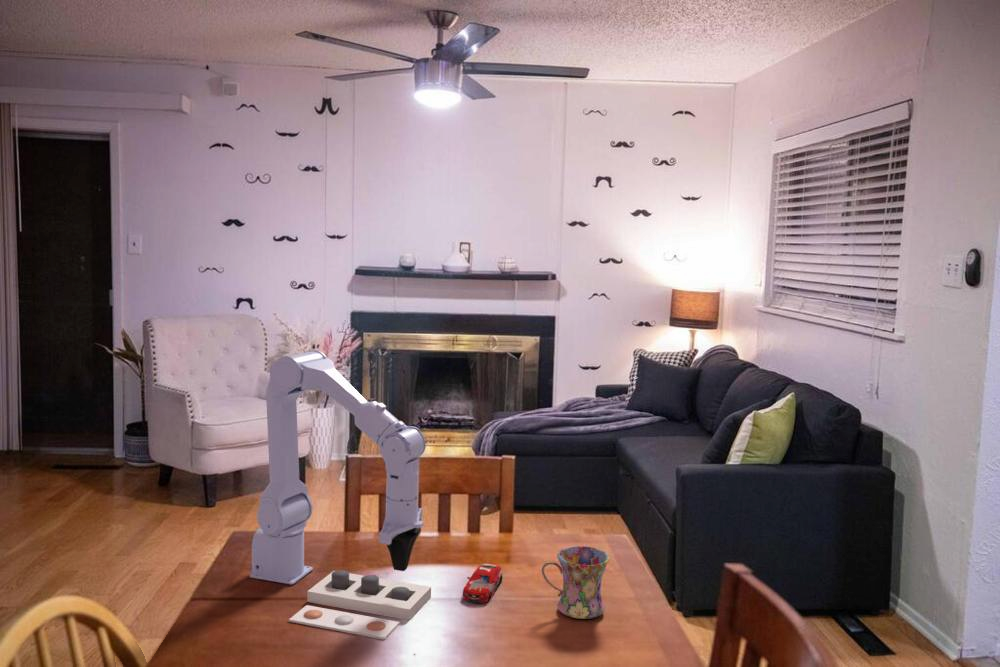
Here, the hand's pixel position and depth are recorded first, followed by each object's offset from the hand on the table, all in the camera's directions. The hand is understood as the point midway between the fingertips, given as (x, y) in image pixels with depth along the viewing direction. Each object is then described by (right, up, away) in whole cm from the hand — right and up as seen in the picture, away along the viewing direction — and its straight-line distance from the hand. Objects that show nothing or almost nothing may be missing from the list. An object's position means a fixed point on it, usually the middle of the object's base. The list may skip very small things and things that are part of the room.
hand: (400, 569), depth 159 cm
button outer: (0, -6, +1) cm, 6 cm away
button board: (-6, -6, +3) cm, 9 cm away
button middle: (-6, -5, +2) cm, 8 cm away
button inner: (-12, -4, +4) cm, 13 cm away
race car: (+15, -7, +9) cm, 18 cm away
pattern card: (-9, -7, -7) cm, 13 cm away
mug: (+31, -8, +1) cm, 32 cm away
